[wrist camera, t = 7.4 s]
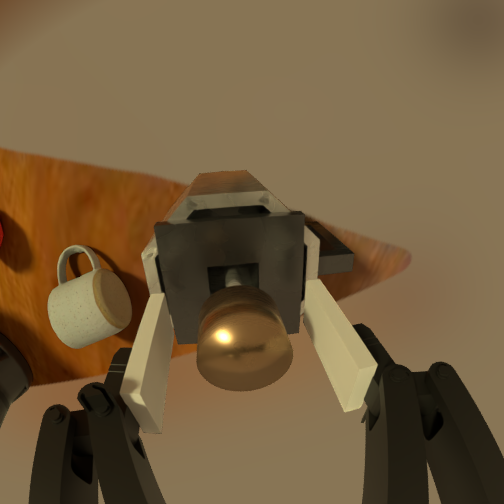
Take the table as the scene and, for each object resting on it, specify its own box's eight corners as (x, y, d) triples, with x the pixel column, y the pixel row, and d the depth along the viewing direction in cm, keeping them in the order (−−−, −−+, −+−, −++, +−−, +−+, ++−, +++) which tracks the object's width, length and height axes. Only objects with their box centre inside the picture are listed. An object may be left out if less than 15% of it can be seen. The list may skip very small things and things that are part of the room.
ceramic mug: (142, 305, 31) (126, 345, 24) (95, 324, 31) (75, 362, 24) (97, 229, 27) (65, 254, 20) (52, 256, 27) (19, 285, 20)
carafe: (180, 275, 30) (164, 358, 18) (168, 176, 26) (128, 205, 14) (304, 264, 32) (352, 336, 19) (306, 167, 27) (372, 191, 15)
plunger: (192, 268, 28) (175, 415, 12) (183, 194, 25) (131, 290, 9) (266, 261, 29) (321, 399, 13) (264, 188, 26) (345, 271, 10)
